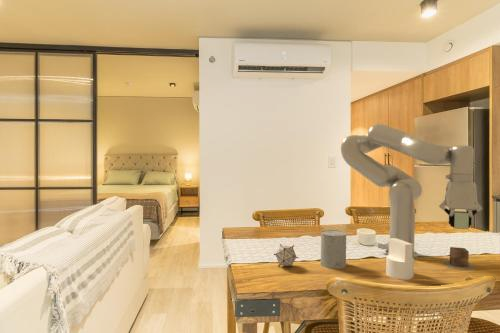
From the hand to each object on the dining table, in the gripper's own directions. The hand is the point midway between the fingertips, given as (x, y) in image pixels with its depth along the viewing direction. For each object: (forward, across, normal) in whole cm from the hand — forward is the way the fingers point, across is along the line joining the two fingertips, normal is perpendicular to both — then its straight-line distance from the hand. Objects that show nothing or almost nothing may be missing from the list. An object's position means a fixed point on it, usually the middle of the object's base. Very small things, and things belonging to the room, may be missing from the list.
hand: (459, 226), depth 135 cm
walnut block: (+15, 0, 0) cm, 15 cm away
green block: (+1, 0, 0) cm, 1 cm away
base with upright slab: (+16, -23, -17) cm, 32 cm away
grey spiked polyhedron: (+15, -63, -20) cm, 67 cm away
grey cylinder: (+15, -46, -12) cm, 50 cm away
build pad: (+15, 0, 0) cm, 15 cm away
